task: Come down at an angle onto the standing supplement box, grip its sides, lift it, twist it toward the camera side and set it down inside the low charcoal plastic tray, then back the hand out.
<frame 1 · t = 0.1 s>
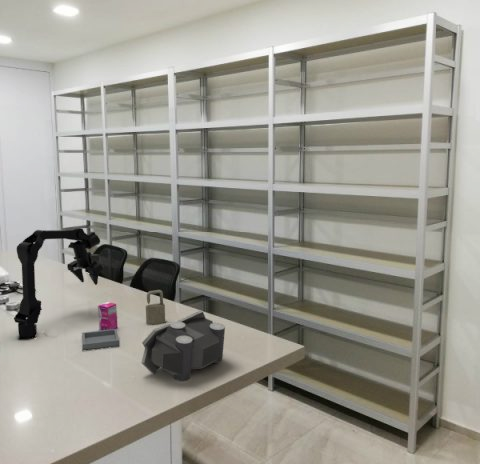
hand: (89, 283, 239), 15 cm above the table, tool pointing down, fingers open, 9 cm apart
padlock: (155, 323, 229), on the table
tray: (100, 342, 206), on the table
supplement box: (108, 329, 221), on the table
electronic device: (187, 367, 181), on the table
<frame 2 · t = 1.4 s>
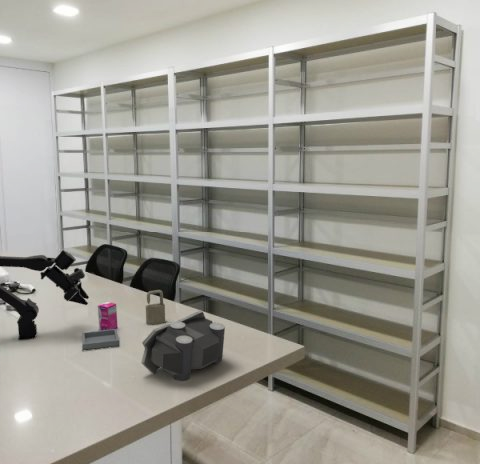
hand: (87, 301, 217), 13 cm above the table, tool tilted 45°, fingers open, 9 cm apart
nothing on the table moved.
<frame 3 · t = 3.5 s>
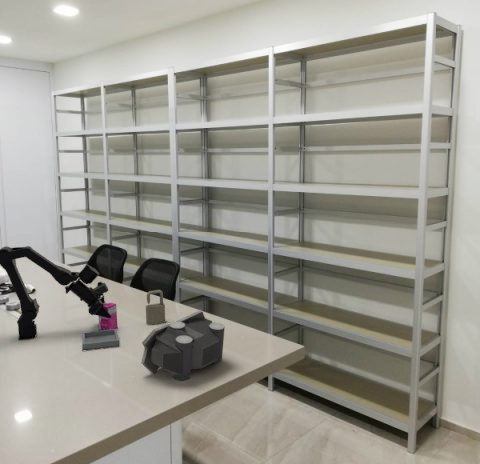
hand: (111, 314, 220), 7 cm above the table, tool tilted 45°, fingers closed on supplement box, 8 cm apart
supplement box: (108, 329, 221), on the table, touching gripper
everything else where it was.
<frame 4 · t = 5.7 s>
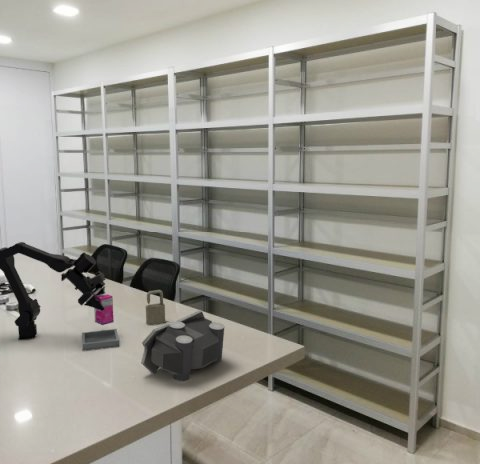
hand: (106, 306, 209), 13 cm above the table, tool tilted 45°, fingers closed on supplement box, 8 cm apart
supplement box: (104, 322, 210), point 6 cm above the table, touching gripper
everything else where it was.
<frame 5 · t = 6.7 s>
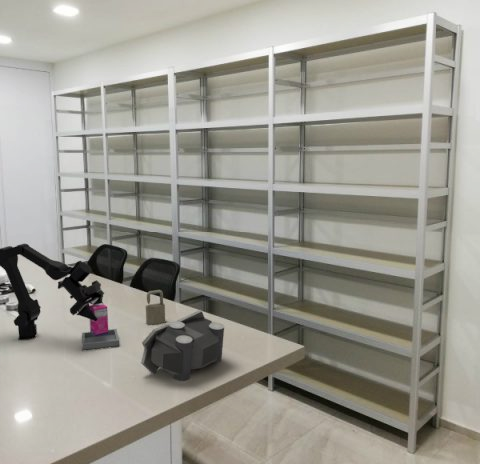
hand: (101, 317, 204), 11 cm above the table, tool tilted 45°, fingers closed on supplement box, 8 cm apart
supplement box: (99, 333, 205), point 4 cm above the table, touching gripper
everything else where it was.
when the fingers open (8 cm above the table, at t = 7.7 s): supplement box stays where it is, resting on tray.
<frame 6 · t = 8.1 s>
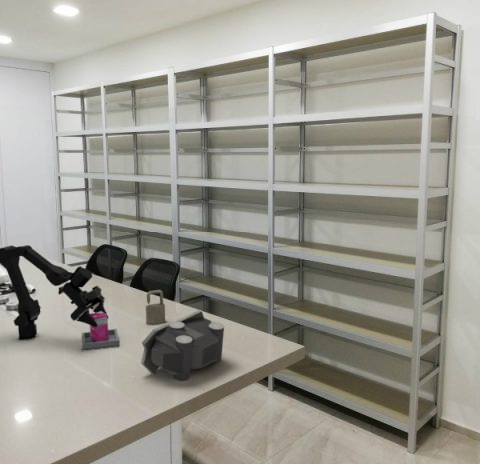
hand: (102, 322, 204), 9 cm above the table, tool tilted 45°, fingers open, 9 cm apart
supplement box: (99, 341, 206), resting on tray
everything else where it was.
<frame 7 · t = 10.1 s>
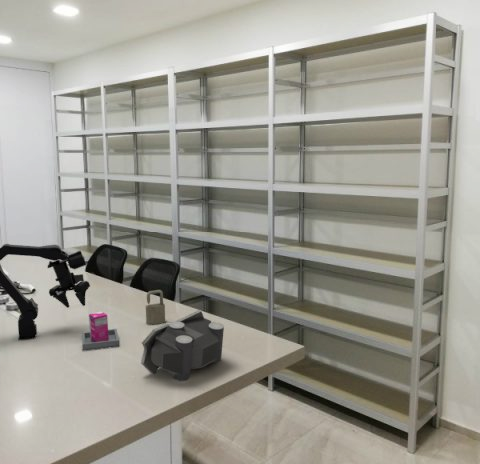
hand: (76, 306, 218), 11 cm above the table, tool tilted 15°, fingers open, 9 cm apart
nothing on the table moved.
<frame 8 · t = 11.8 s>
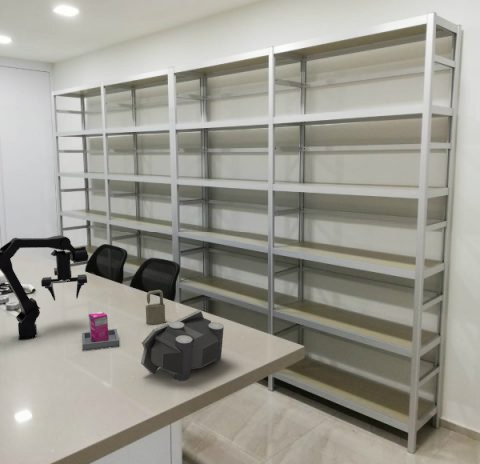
hand: (65, 299, 222), 13 cm above the table, tool pointing down, fingers open, 9 cm apart
nothing on the table moved.
at the end: supplement box inside the target area on the tray (0.3 cm from its centre), point 0.4 cm above the tray's base; supplement box tilted 0°; the gripper is holding nothing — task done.
